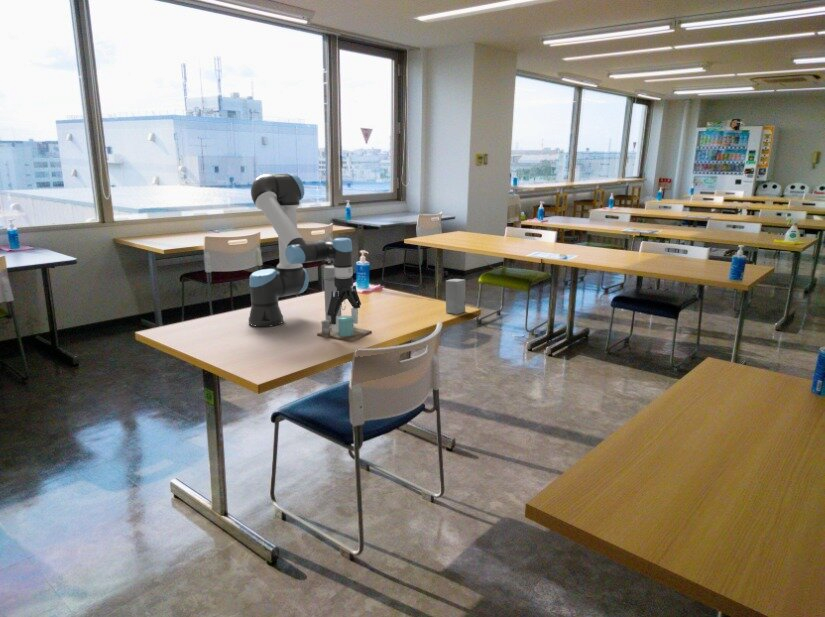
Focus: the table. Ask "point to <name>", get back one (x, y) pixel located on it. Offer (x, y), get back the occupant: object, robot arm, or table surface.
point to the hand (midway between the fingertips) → (345, 327)
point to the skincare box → (455, 296)
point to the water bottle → (329, 289)
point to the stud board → (329, 333)
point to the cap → (345, 326)
